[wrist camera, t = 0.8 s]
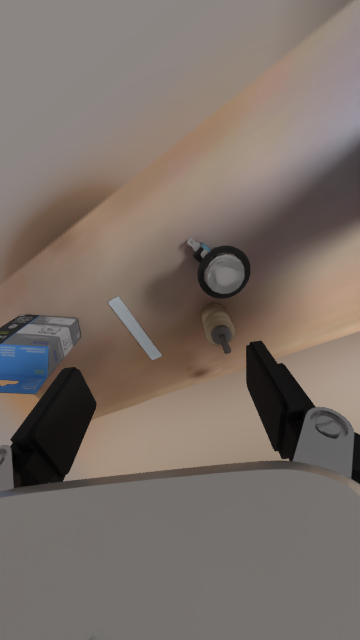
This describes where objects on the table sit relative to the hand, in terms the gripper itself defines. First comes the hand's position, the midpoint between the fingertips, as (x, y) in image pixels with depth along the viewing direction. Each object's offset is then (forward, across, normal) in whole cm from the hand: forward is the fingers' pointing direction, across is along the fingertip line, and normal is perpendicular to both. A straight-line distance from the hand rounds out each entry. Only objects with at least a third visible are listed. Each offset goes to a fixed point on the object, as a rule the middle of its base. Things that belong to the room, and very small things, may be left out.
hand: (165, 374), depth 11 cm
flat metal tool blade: (+20, +7, +8) cm, 23 cm away
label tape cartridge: (+21, +21, +5) cm, 30 cm away
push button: (+21, -5, -2) cm, 22 cm away
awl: (+21, -6, +7) cm, 23 cm away
